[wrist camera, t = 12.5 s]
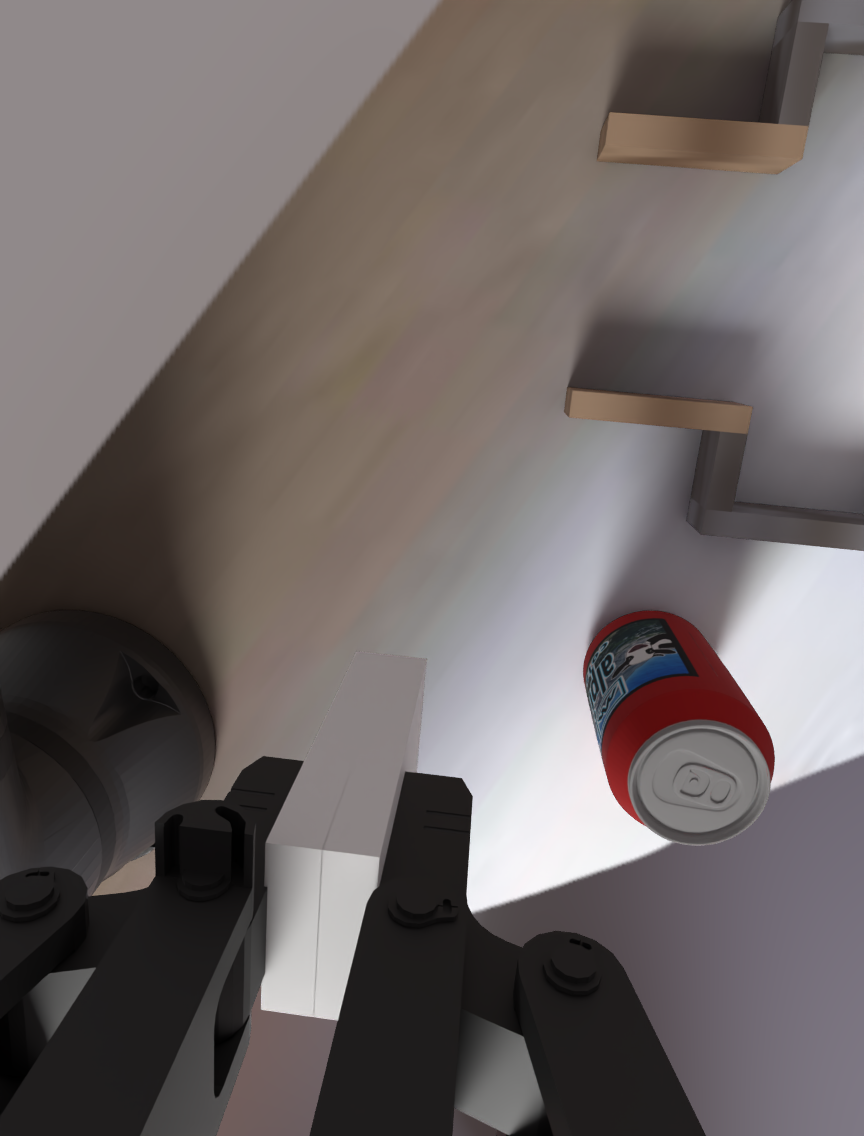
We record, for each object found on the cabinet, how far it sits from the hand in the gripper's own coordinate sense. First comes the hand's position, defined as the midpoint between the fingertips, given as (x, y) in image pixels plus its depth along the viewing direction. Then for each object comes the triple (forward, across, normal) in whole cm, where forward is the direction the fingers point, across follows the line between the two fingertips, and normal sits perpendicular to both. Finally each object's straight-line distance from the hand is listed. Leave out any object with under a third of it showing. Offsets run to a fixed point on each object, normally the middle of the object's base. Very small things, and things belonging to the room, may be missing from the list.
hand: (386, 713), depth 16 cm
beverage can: (+25, +11, -8) cm, 28 cm away
